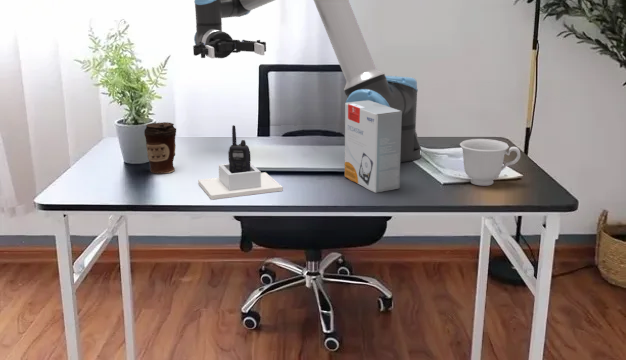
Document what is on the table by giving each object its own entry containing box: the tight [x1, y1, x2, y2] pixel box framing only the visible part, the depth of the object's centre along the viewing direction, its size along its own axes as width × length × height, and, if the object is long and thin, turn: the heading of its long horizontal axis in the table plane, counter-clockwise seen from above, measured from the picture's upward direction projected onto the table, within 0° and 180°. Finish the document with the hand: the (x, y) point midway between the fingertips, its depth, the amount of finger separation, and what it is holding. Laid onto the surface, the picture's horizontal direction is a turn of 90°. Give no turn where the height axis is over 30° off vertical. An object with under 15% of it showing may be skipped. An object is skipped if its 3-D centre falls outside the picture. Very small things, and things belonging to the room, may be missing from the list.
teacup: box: [459, 138, 521, 187], centre depth 185 cm, size 12×15×10 cm
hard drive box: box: [344, 100, 402, 194], centre depth 185 cm, size 16×8×20 cm, turn 27°
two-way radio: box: [227, 124, 252, 173], centre depth 183 cm, size 6×4×15 cm
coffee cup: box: [143, 121, 177, 174], centre depth 197 cm, size 9×8×13 cm
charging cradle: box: [197, 162, 284, 200], centre depth 184 cm, size 18×14×5 cm
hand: (238, 51), depth 193 cm, fingers open, 13 cm apart
